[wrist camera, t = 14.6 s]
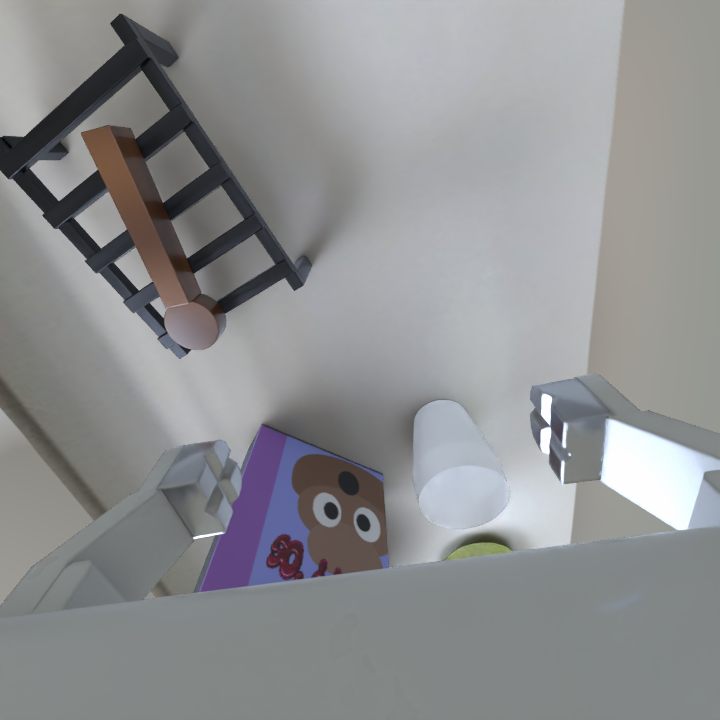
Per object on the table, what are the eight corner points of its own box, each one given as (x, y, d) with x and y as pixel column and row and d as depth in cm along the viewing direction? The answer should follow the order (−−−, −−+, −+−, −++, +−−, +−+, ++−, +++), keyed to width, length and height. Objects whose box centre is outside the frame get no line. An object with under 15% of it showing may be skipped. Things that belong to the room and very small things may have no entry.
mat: (527, 544, 57) (532, 556, 56) (484, 583, 62) (487, 595, 60) (467, 522, 55) (470, 534, 53) (427, 564, 60) (429, 576, 58)
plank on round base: (89, 139, 26) (62, 137, 24) (147, 123, 25) (126, 120, 23) (187, 344, 33) (174, 357, 31) (234, 334, 33) (224, 348, 31)
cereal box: (382, 473, 50) (398, 701, 29) (365, 495, 52) (368, 723, 31) (262, 424, 46) (179, 646, 25) (248, 449, 48) (161, 675, 27)
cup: (399, 396, 44) (411, 471, 34) (475, 385, 43) (512, 457, 33) (408, 453, 49) (422, 535, 38) (478, 443, 48) (511, 524, 37)
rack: (48, 146, 32) (-25, 144, 26) (168, 41, 29) (116, 10, 23) (204, 330, 40) (177, 361, 34) (312, 265, 37) (303, 286, 31)
